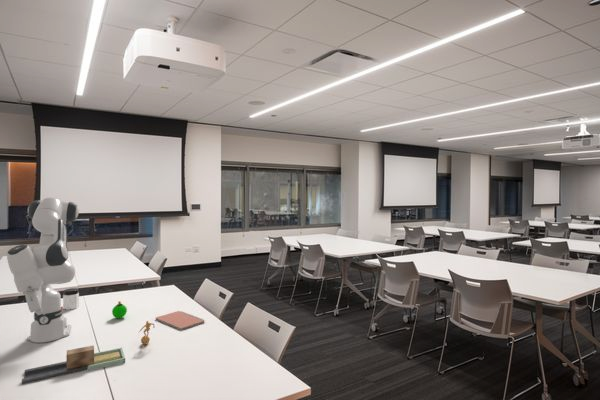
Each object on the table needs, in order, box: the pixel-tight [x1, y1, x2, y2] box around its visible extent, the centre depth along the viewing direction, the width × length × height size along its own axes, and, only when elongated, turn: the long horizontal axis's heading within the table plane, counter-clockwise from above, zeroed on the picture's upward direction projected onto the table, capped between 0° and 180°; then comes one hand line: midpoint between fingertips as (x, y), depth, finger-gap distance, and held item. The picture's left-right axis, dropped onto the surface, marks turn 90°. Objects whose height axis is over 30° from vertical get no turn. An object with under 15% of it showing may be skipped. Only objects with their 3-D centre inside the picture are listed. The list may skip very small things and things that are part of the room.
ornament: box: [111, 300, 128, 319], centre depth 218 cm, size 8×8×10 cm
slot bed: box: [21, 360, 88, 385], centre depth 150 cm, size 22×11×2 cm, turn 122°
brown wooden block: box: [65, 345, 95, 369], centre depth 155 cm, size 10×5×7 cm, turn 122°
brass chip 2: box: [107, 352, 121, 361], centre depth 162 cm, size 5×5×2 cm
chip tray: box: [87, 347, 126, 371], centre depth 160 cm, size 14×13×3 cm
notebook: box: [155, 310, 206, 331], centre depth 213 cm, size 27×17×2 cm, turn 51°
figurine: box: [138, 320, 155, 345], centre depth 180 cm, size 8×6×12 cm
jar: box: [62, 287, 80, 311], centre depth 237 cm, size 9×8×12 cm
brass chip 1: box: [94, 354, 107, 364], centre depth 159 cm, size 5×5×2 cm
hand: (40, 313), depth 153 cm, fingers closed
